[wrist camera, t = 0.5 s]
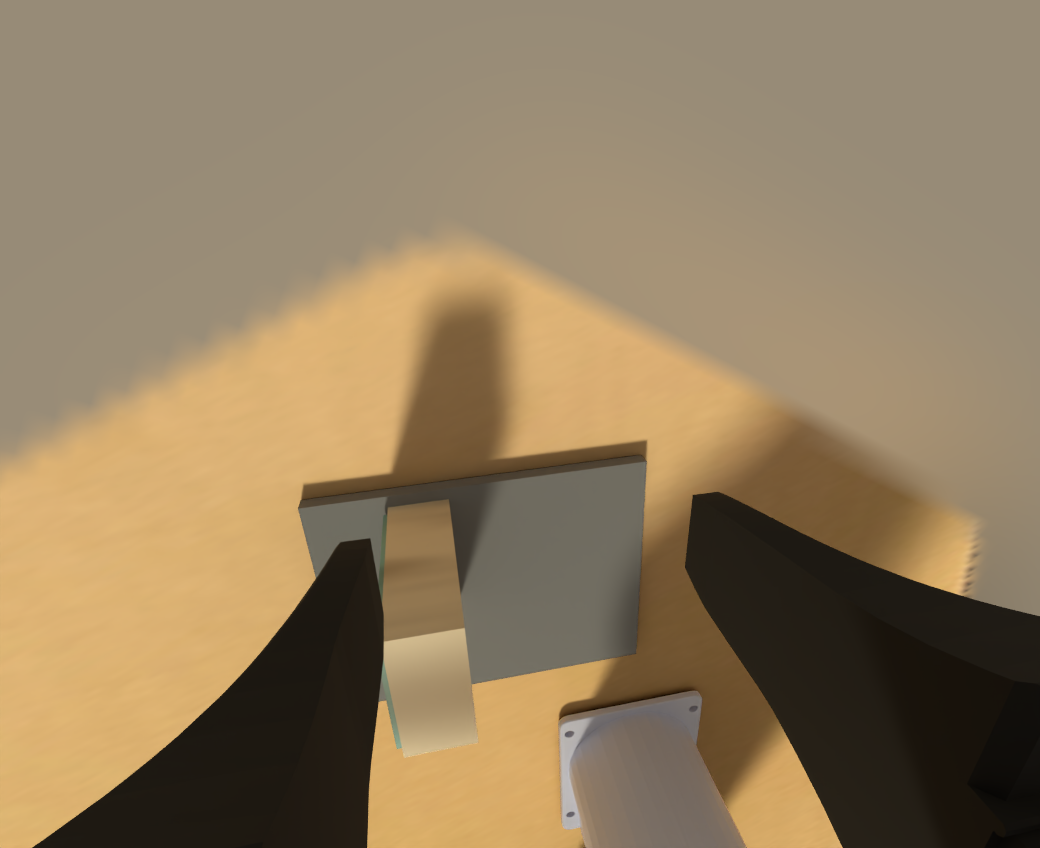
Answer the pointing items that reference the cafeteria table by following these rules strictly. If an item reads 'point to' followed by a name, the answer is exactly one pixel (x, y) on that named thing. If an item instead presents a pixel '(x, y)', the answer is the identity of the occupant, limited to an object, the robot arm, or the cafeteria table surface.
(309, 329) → the cafeteria table surface
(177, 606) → the cafeteria table surface
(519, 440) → the cafeteria table surface
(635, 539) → the rubber mat
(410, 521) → the green-faced wooden block
